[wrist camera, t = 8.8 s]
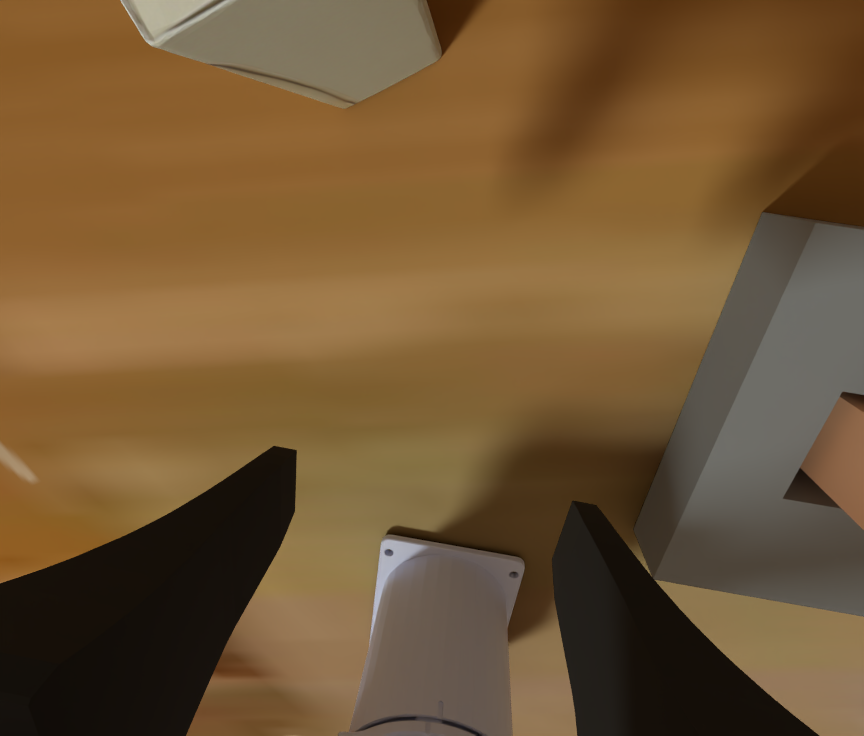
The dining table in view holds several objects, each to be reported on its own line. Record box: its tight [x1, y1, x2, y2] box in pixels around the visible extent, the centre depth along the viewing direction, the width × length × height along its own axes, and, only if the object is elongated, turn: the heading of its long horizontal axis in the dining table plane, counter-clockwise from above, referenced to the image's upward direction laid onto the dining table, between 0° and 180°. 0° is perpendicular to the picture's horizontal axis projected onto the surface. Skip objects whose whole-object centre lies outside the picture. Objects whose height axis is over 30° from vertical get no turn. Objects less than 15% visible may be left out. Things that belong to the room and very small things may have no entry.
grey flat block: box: [633, 212, 864, 617], centre depth 20 cm, size 16×12×3 cm
